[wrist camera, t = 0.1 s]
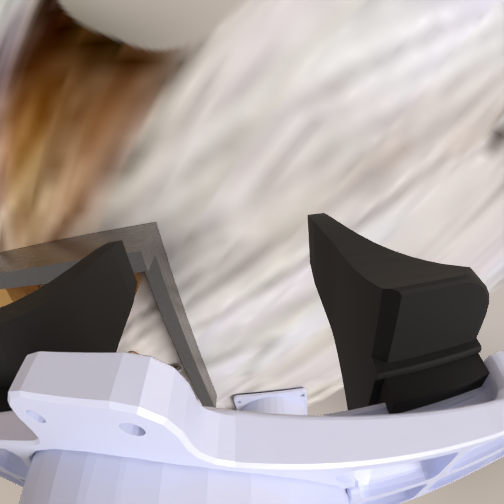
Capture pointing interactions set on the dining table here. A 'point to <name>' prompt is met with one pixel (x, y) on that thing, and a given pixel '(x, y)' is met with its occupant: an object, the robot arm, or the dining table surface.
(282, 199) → the dining table surface
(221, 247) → the dining table surface
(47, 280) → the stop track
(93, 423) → the robot arm
